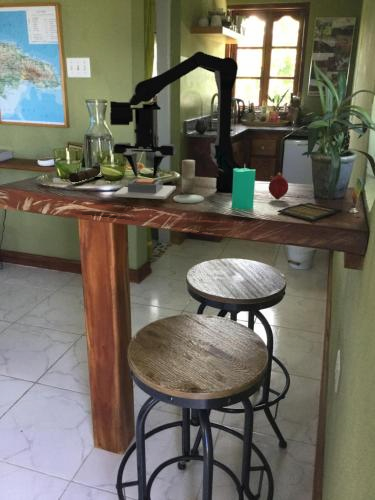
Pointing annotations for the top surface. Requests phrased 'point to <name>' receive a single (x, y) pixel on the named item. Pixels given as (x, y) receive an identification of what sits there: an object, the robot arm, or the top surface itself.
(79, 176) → the dark brown elongated bar
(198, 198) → the mat
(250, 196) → the candle
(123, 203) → the top surface
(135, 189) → the white flat square slab
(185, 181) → the tan cylinder
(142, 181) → the button
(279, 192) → the onion
